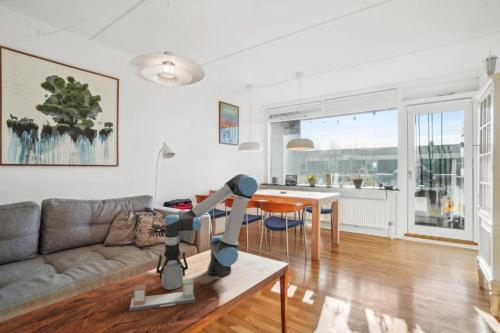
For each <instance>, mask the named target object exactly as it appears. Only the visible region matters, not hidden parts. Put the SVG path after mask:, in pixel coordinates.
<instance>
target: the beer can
mask: <svg viewBox="0 0 500 333" xmlns="http://www.w3.org/2000/svg"><path fill="white" fill-rule="evenodd" d="M163 265H164V263H163V264H162V266H163ZM181 270H182V268H181V264H178V262H177V261H176V260H172V261H168V263H167V265H165V266H164V270H163V280H164V285H163V286H162V287H163V288H164V290H171V291H172V290H176V289H180V287H181V286H182V283H181Z"/></svg>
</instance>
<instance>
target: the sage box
mask: <svg viewBox="0 0 500 333" xmlns="http://www.w3.org/2000/svg"><path fill="white" fill-rule="evenodd" d="M194 286H195V285H194V278H188V279H187V278H186V279H183V283H182V292H183V299H188V298H193V294H194Z"/></svg>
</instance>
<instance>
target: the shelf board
mask: <svg viewBox="0 0 500 333" xmlns="http://www.w3.org/2000/svg"><path fill="white" fill-rule="evenodd" d="M189 303H190V304H191V303H196V299H195V295H194V293H193V298H188V299H183V291H180V292H172V293H171V292H170V293H164V294H163V293H162V294H154V295H149V296H146V299H145V304H143V305H136V306H134V297H132V298H131V301H130V306H129V307H128V312H133V311H134V312H135V311H142V310H147V309H148V310H149V309H157V308H163V307H172V306H176V305H184V304H189Z"/></svg>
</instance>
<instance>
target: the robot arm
mask: <svg viewBox="0 0 500 333" xmlns="http://www.w3.org/2000/svg"><path fill="white" fill-rule="evenodd" d="M258 187H259V186H258V182H257V179H256V178H255V177H254V176H251V175H249V174H244V173H240V174H236V175H234V176H233V177H232V178H230V179H229V180H228V181H226V182H225V183H224V186H222V187H221V188H219V189H218V190H216V191H215V192H214V193H212V194H210V195H209V196H208V197H207V198H205V199H204V200H202V201H201V202H199V203H198V204H196V205H195V206H194V207H192V208H191V209H190V210H188V211H185V212H183V213H182V214H181V215H180V216H179V214H168V215H166V216H165V218H164V253H159V255H158V257H159V258H158V263H157V267H156V269H155V270H156V271H155V273H156V274H159V279H160V280H161V286H162V287H163V286H164V266H165V265H167V263H168V261H172V260H176V261H177V262H178V264H181V284H183V280H184V277H185V276H186V271H187V270H189V267H188V266H189V265H188V262H187V259H186V251H185V250H183V251H180V233H183V232H184V233H186V232H195V231H200V230H201V229H202V217H203V216H205V215H206V214H207V213H209V212H210V211H212V210H213V209H214V208H215V207H217V206H219V205H220V204H222V203H223V202H224V201H225V200H227V199H228V198H230V197H234V198H233V202H232V206H231V208H230V211H229V215H228V220H227V223H226V226H225V228H224V232H223V235H222V234H221V235H213V236H212V237H211V239H210V261H209V264H208V266H207V274H208V275H210V276H212V277H219V278H221V277H225V276H229V275H230V274H232V265H234V264H236V262H237V261H238V258H239V252H238V248H239V245H240V244H239V241H238V239H239V236H240V231H241V227H242V226H243V225H242V224H243V221H244V217H245V214H246V211H247V208H248V207H247V206H248V203H249V201H251V200H252V198H253V195H254V194H256V192H257V190H258ZM179 256H181V257H182V258H183V259H182V260H183V263H184V264H183V263H182V261H181V259H180V257H179ZM164 257H165V260H164V262H163V264H164V265H163V264H162V260H163V258H164ZM161 264H162V266H161Z"/></svg>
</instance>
